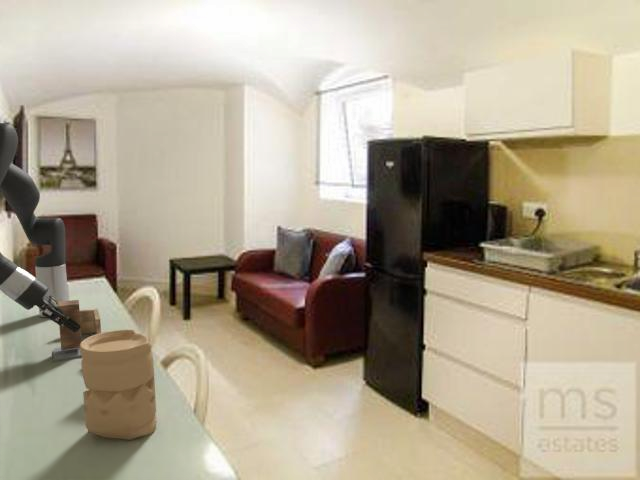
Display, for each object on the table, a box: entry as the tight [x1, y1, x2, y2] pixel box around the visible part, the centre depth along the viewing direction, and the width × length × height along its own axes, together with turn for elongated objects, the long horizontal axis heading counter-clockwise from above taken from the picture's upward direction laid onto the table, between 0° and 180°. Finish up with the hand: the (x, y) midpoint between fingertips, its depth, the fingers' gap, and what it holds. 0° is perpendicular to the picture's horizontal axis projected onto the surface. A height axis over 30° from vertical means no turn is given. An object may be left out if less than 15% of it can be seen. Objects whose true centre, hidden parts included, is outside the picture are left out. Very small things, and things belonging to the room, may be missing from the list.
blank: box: [58, 299, 83, 350], centre depth 139 cm, size 5×5×12 cm
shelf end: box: [79, 308, 102, 335], centre depth 151 cm, size 9×13×7 cm
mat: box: [53, 346, 83, 362], centre depth 140 cm, size 9×9×1 cm
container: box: [80, 328, 157, 441], centre depth 97 cm, size 13×13×18 cm
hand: (77, 326), depth 140 cm, fingers closed on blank, 5 cm apart
